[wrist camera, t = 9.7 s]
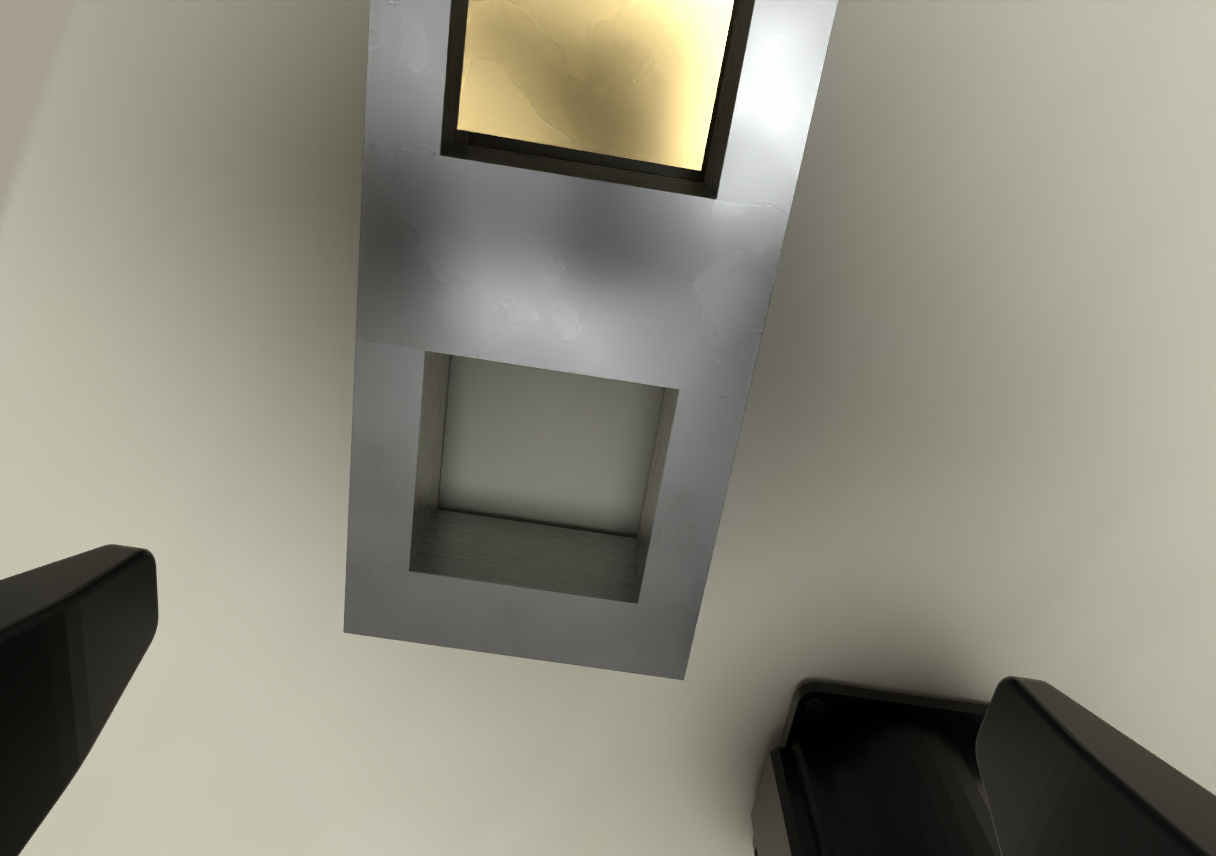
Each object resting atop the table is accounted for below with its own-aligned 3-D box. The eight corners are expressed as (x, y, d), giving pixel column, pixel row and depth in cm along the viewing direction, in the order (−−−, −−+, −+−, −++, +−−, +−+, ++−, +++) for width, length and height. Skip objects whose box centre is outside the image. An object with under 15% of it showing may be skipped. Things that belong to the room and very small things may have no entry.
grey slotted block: (848, -191, 16) (894, -248, 13) (677, 607, 23) (683, 679, 20) (427, -265, 16) (384, -339, 13) (378, 564, 23) (343, 632, 20)
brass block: (720, -59, 17) (755, -112, 12) (682, 148, 19) (700, 170, 14) (523, -94, 17) (482, -162, 12) (500, 117, 18) (457, 129, 14)
